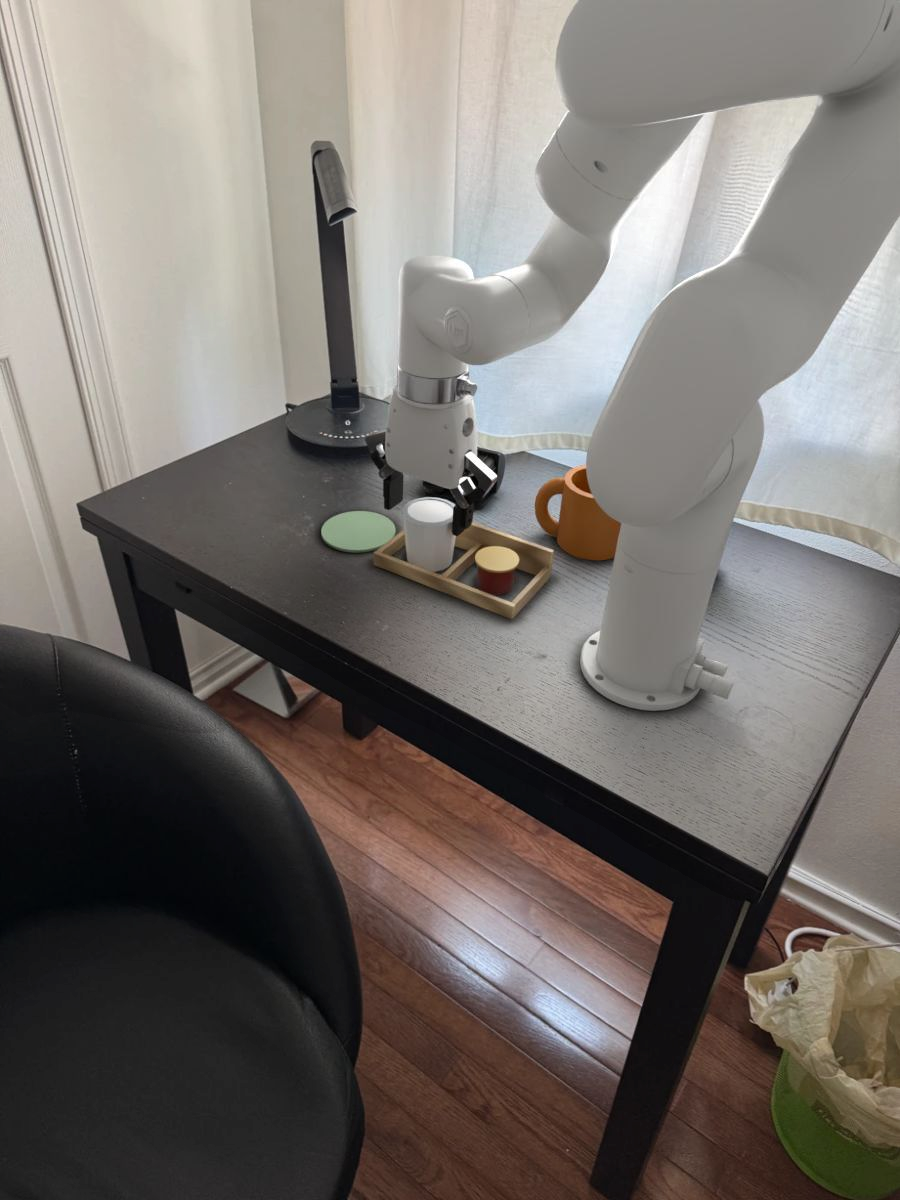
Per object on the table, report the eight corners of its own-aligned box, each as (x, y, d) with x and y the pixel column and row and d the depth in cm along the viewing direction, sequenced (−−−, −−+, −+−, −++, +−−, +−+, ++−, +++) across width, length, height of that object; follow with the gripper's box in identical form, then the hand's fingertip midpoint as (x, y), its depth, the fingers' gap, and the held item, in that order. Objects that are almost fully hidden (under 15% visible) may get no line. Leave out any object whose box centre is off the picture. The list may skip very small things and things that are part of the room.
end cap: (503, 488, 114) (507, 445, 109) (484, 511, 108) (487, 466, 104) (440, 473, 117) (442, 430, 113) (419, 494, 111) (419, 450, 107)
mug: (548, 511, 109) (555, 452, 103) (632, 535, 105) (645, 474, 99) (523, 542, 102) (529, 480, 97) (612, 568, 98) (624, 505, 93)
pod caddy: (550, 577, 96) (554, 549, 94) (512, 619, 89) (515, 591, 87) (418, 529, 104) (418, 503, 102) (373, 565, 97) (372, 537, 95)
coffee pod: (524, 580, 96) (527, 554, 93) (503, 601, 92) (506, 576, 90) (486, 566, 98) (488, 541, 95) (465, 587, 94) (466, 561, 92)
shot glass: (451, 578, 95) (453, 528, 91) (395, 570, 96) (395, 521, 92) (462, 548, 101) (464, 500, 97) (409, 540, 102) (409, 492, 98)
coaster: (409, 527, 104) (409, 524, 104) (366, 561, 98) (366, 558, 97) (351, 506, 108) (351, 503, 108) (305, 537, 102) (305, 534, 101)
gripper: (519, 391, 84) (504, 527, 95) (386, 352, 91) (385, 483, 101) (484, 415, 79) (472, 556, 89) (346, 372, 86) (350, 508, 96)
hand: (426, 517), depth 95 cm, fingers open, 9 cm apart
